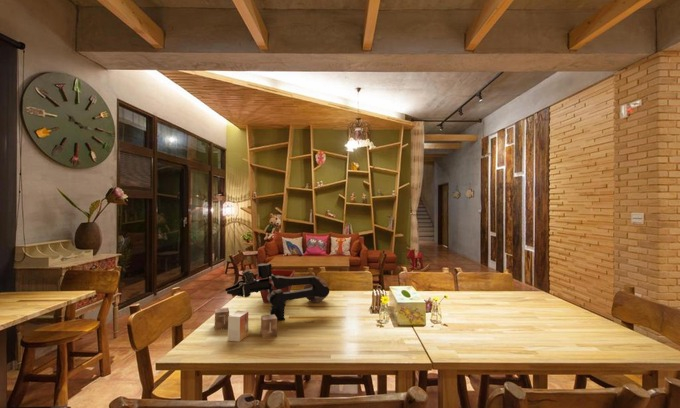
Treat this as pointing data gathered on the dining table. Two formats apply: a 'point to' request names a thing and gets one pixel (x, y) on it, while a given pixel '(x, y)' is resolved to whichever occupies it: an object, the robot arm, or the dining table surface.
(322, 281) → the wooden sphere
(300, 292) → the robot arm
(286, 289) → the plant pot
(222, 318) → the walnut block seven
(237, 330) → the small box
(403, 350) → the dining table surface
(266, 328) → the walnut block one
